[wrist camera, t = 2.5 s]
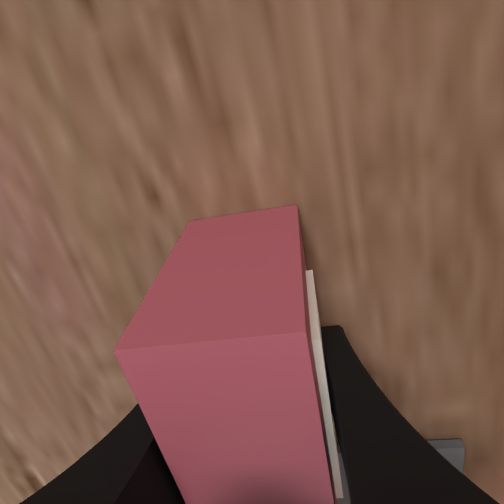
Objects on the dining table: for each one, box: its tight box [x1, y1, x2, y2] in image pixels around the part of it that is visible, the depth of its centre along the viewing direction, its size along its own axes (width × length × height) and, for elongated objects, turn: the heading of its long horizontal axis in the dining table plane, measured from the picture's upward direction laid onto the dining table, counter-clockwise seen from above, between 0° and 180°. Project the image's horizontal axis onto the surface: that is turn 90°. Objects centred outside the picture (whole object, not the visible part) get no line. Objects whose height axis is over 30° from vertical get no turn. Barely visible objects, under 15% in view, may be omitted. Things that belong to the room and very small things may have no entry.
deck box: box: [113, 205, 343, 504], centre depth 11 cm, size 4×9×6 cm, turn 11°
